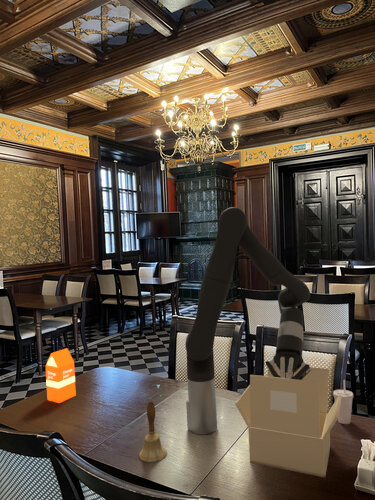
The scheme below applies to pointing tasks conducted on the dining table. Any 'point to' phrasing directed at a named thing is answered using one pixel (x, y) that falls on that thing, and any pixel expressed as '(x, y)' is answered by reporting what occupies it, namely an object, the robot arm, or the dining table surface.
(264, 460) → the carton
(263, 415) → the front flap
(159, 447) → the hand bell
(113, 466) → the dining table surface
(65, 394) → the orange juice
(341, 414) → the smoothie
